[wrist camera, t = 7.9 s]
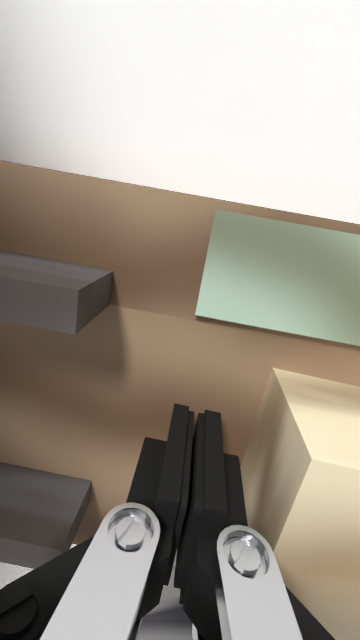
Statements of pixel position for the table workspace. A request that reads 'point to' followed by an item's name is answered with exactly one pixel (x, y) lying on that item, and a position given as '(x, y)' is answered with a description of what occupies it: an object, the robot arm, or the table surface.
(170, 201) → the runway board
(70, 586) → the robot arm
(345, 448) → the maple block
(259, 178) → the table surface
